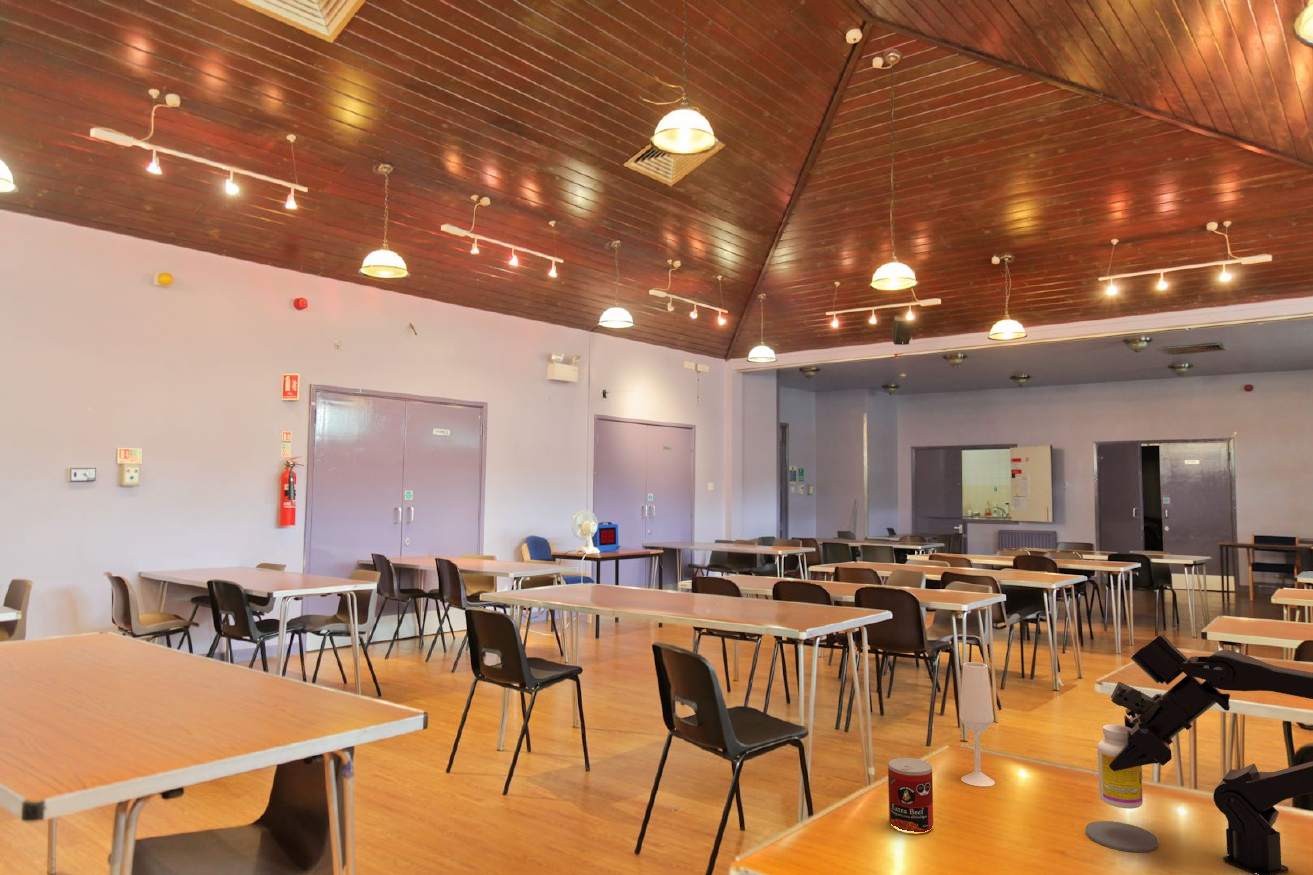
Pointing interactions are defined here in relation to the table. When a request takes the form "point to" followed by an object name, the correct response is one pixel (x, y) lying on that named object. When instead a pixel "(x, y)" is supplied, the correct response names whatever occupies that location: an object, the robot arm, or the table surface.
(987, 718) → the champagne flute
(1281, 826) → the table surface
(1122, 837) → the slate coaster
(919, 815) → the canned food
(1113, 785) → the supplement bottle
